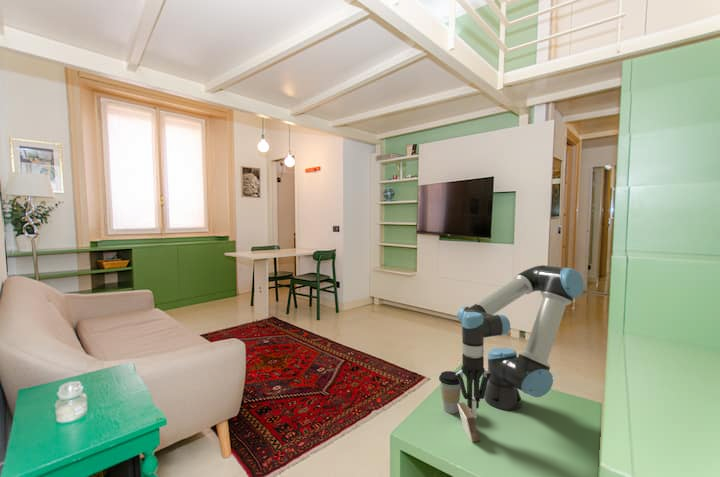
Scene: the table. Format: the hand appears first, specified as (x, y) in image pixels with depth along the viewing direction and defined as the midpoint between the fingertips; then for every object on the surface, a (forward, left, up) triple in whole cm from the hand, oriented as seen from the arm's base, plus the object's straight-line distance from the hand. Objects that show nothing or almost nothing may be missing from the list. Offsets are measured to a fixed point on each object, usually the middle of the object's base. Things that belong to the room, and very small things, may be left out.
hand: (473, 416), depth 120 cm
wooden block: (+1, 0, -6) cm, 6 cm away
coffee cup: (+4, -16, -7) cm, 18 cm away
